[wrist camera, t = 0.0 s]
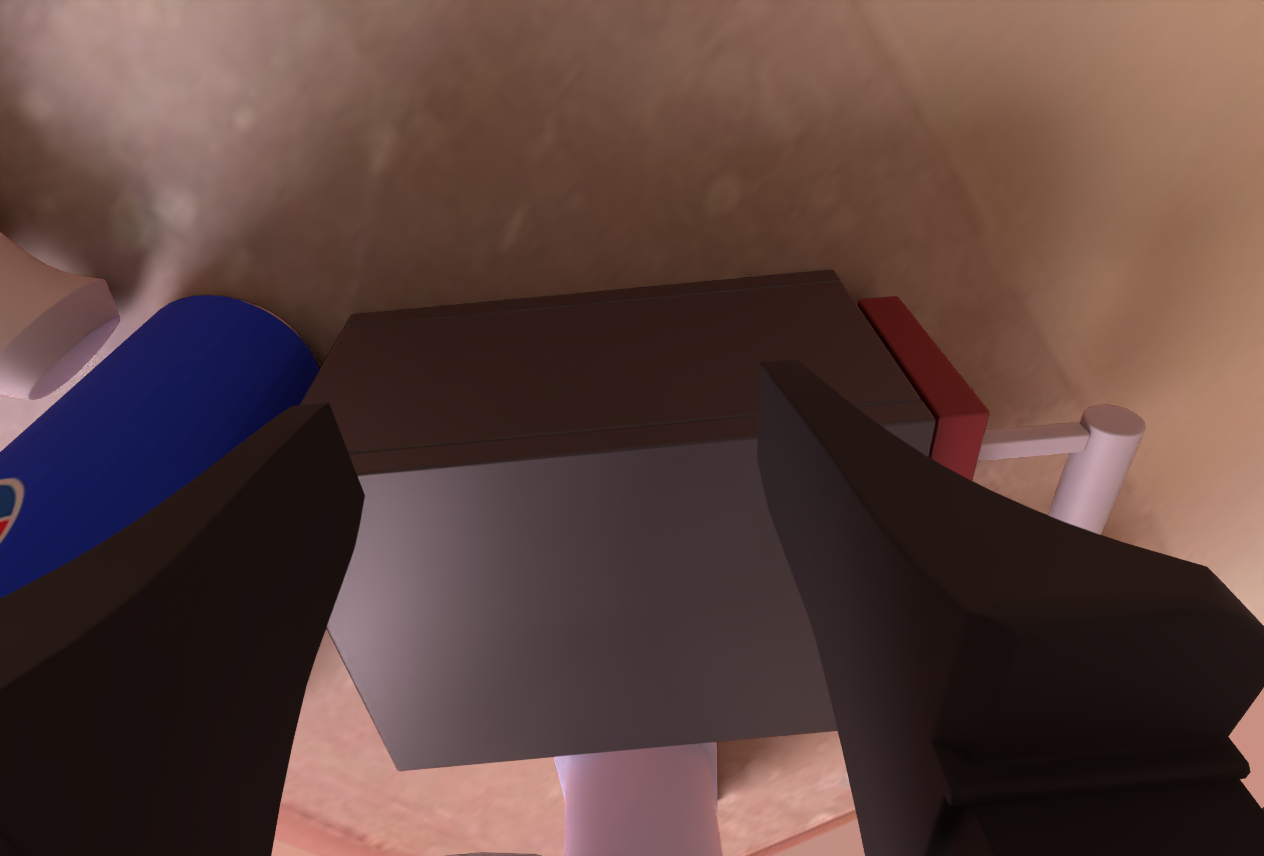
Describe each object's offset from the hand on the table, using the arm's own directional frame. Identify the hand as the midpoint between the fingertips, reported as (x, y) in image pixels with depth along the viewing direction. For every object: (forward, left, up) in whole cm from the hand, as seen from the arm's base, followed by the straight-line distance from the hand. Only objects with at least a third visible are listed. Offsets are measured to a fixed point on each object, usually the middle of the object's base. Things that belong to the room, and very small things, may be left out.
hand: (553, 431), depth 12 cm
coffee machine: (-8, 0, -10) cm, 13 cm away
